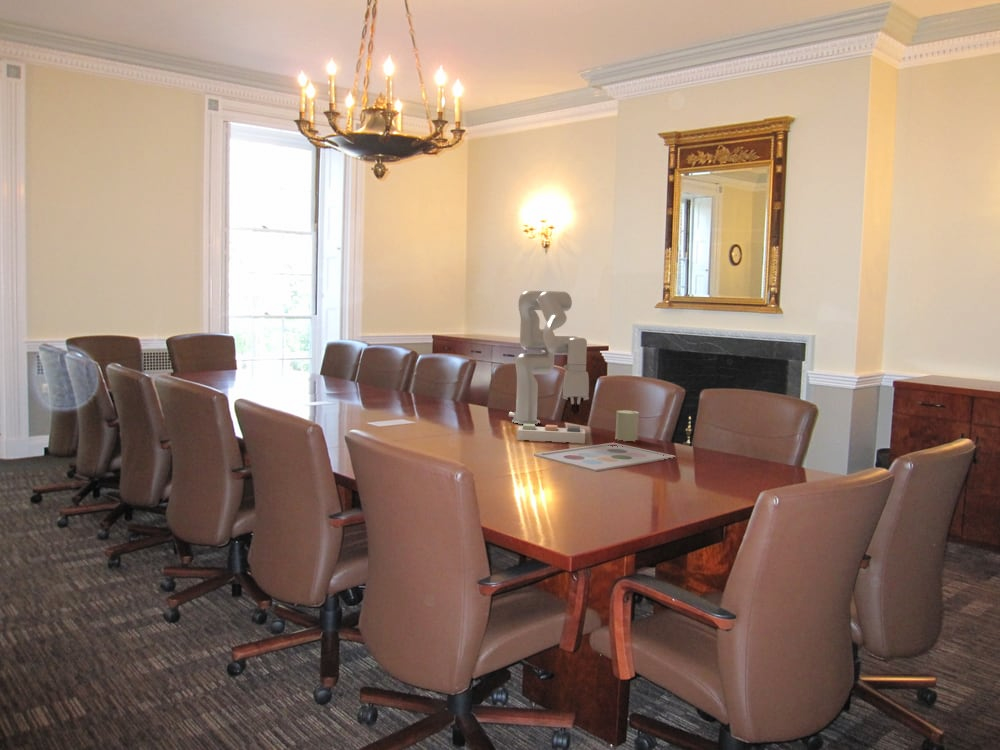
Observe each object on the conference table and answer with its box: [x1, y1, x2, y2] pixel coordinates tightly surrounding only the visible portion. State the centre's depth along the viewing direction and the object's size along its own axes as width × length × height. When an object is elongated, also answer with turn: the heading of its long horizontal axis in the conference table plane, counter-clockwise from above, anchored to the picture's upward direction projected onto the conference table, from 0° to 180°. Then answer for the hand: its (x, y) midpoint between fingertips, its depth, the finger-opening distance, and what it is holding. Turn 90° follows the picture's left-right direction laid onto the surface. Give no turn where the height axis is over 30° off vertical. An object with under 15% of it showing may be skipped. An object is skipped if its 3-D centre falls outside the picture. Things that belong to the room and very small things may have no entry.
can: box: [614, 409, 640, 442], centre depth 344 cm, size 9×9×12 cm
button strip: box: [516, 425, 586, 444], centre depth 339 cm, size 27×11×4 cm, turn 86°
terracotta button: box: [544, 424, 558, 431], centre depth 339 cm, size 5×5×4 cm
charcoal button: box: [567, 425, 581, 432], centre depth 338 cm, size 5×5×4 cm
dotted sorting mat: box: [533, 442, 676, 472], centre depth 307 cm, size 30×1×43 cm
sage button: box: [522, 424, 536, 430], centre depth 339 cm, size 5×5×4 cm
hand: (575, 413), depth 337 cm, fingers closed
